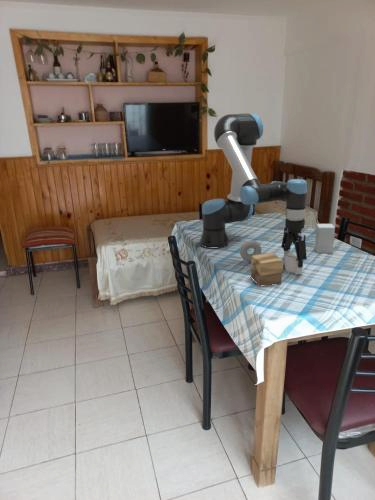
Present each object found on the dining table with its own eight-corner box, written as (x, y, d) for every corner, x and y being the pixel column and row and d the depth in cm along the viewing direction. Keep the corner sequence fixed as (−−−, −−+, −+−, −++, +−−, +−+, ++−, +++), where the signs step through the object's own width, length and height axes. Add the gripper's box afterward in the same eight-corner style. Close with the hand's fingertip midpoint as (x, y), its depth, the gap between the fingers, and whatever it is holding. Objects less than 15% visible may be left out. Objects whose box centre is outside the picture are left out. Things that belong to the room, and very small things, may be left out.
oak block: (251, 267, 141) (251, 255, 140) (271, 264, 143) (272, 252, 142) (261, 275, 133) (261, 263, 131) (282, 272, 135) (283, 260, 133)
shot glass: (281, 267, 152) (282, 252, 150) (297, 266, 152) (298, 251, 150) (287, 273, 145) (288, 257, 143) (303, 272, 146) (304, 256, 144)
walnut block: (250, 278, 143) (251, 267, 141) (271, 275, 145) (271, 264, 143) (259, 287, 135) (259, 275, 133) (281, 284, 136) (281, 272, 135)
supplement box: (332, 253, 165) (335, 227, 161) (316, 253, 166) (318, 227, 162) (330, 248, 172) (332, 223, 167) (314, 247, 173) (316, 223, 169)
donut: (260, 259, 162) (260, 238, 159) (262, 261, 159) (262, 240, 156) (238, 260, 162) (239, 239, 159) (240, 263, 159) (240, 242, 155)
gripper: (318, 224, 132) (314, 278, 139) (290, 211, 153) (288, 259, 160) (300, 226, 130) (297, 280, 138) (274, 213, 151) (272, 261, 159)
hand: (292, 269), depth 149 cm, fingers open, 10 cm apart
